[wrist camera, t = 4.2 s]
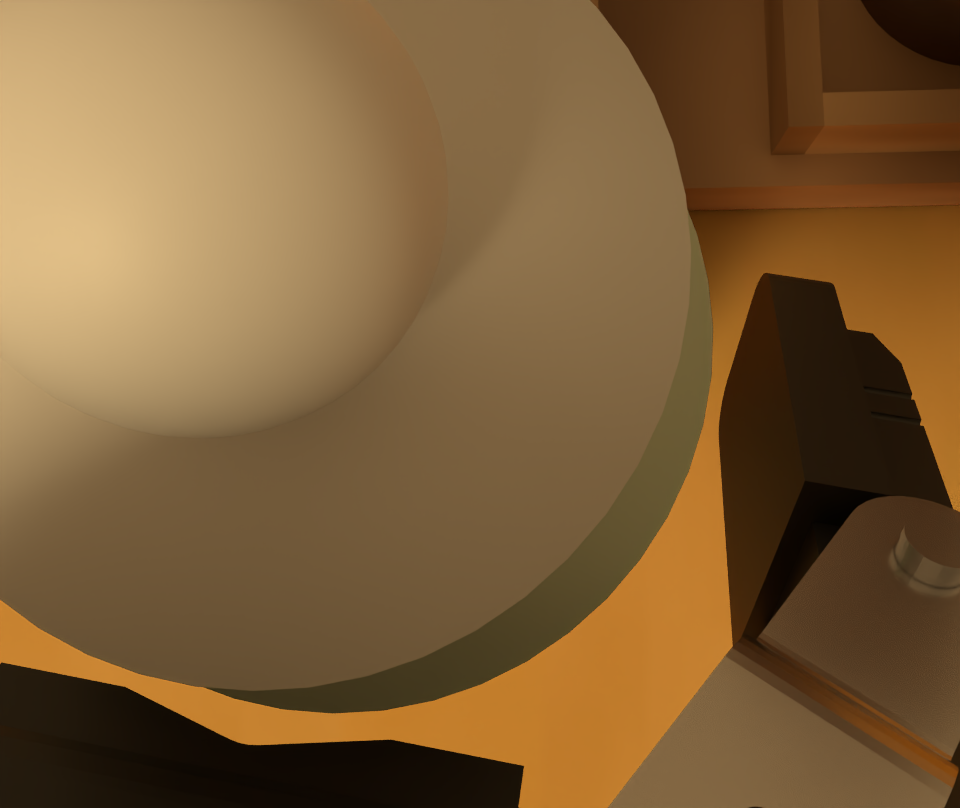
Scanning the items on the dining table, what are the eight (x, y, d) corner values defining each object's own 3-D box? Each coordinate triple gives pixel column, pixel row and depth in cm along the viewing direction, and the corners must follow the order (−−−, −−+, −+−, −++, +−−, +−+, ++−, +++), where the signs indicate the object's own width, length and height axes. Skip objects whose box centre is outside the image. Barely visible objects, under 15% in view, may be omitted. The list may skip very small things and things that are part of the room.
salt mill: (589, 346, 18) (908, -711, 3) (593, 587, 17) (1040, 1024, 2) (356, 349, 18) (-581, -594, 3) (351, 586, 17) (-871, 970, 2)
